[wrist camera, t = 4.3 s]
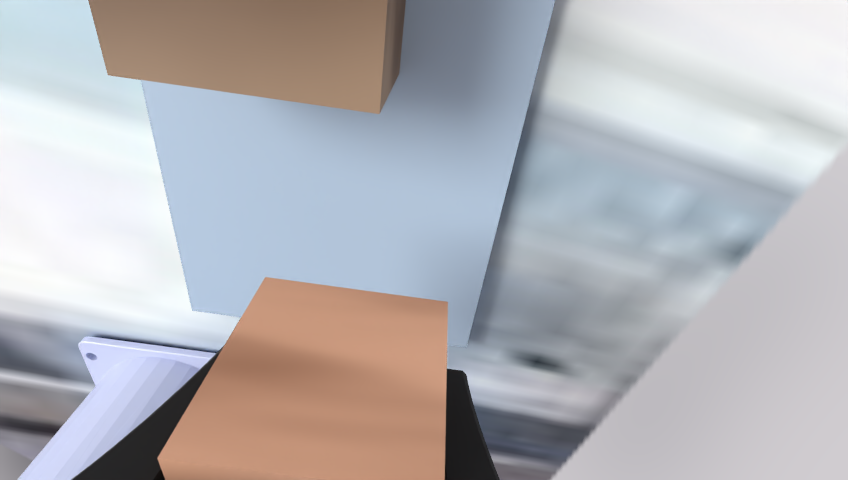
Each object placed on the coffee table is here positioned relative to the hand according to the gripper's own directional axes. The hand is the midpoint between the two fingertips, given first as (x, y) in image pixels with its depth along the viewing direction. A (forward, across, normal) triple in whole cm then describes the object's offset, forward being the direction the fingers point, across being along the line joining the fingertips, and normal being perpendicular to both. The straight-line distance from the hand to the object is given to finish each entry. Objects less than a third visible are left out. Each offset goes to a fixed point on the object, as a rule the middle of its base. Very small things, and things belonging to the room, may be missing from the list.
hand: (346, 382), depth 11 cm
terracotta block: (+1, 0, 0) cm, 1 cm away
